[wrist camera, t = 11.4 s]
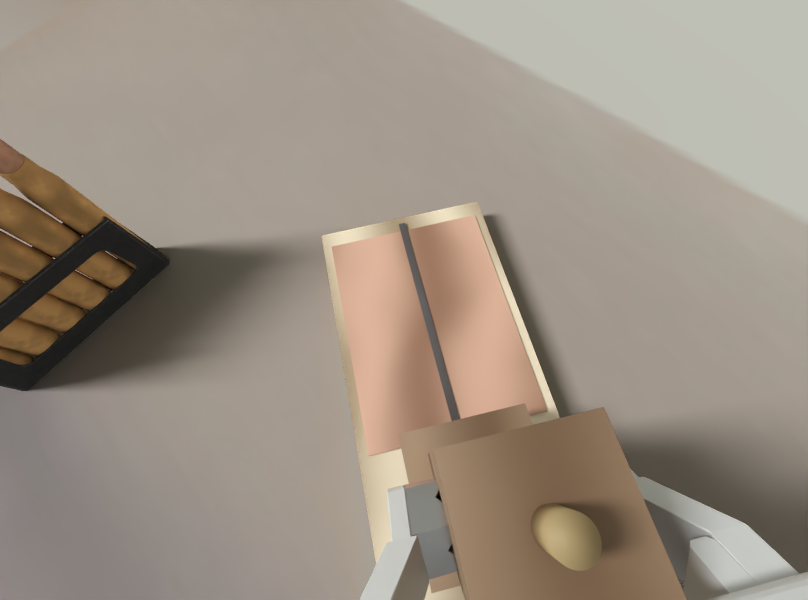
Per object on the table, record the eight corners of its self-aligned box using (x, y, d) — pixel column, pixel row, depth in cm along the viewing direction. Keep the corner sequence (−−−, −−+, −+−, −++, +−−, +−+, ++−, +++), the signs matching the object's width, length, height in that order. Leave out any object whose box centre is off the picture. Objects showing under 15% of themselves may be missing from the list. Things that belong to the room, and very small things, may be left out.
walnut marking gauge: (430, 580, 15) (450, 854, 5) (400, 436, 17) (367, 402, 7) (563, 545, 15) (864, 730, 5) (516, 407, 17) (656, 333, 7)
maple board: (412, 747, 15) (411, 781, 13) (327, 248, 24) (320, 234, 23) (646, 680, 15) (671, 705, 14) (474, 215, 25) (477, 199, 23)
